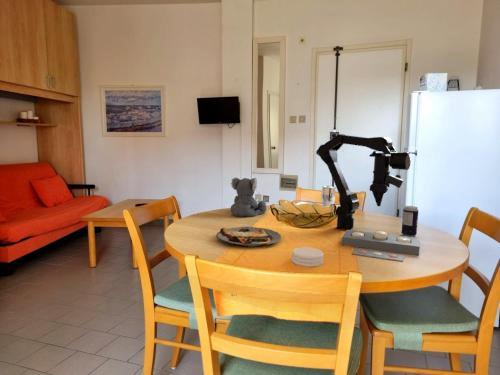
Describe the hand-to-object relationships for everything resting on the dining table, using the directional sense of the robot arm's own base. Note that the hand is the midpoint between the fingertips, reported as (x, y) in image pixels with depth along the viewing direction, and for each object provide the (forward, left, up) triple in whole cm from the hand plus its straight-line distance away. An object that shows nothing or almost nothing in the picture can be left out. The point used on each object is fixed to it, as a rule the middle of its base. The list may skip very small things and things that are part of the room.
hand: (378, 206), depth 143 cm
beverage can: (+12, +4, -12) cm, 18 cm away
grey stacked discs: (-18, -45, -12) cm, 50 cm away
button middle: (+2, -16, -10) cm, 19 cm away
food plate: (-45, -31, -12) cm, 56 cm away
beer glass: (-26, +26, -12) cm, 39 cm away
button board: (+2, -16, -12) cm, 20 cm away
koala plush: (-65, +10, -12) cm, 67 cm away
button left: (-6, -16, -12) cm, 20 cm away
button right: (+10, -16, -12) cm, 22 cm away
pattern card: (+2, -28, -12) cm, 30 cm away
